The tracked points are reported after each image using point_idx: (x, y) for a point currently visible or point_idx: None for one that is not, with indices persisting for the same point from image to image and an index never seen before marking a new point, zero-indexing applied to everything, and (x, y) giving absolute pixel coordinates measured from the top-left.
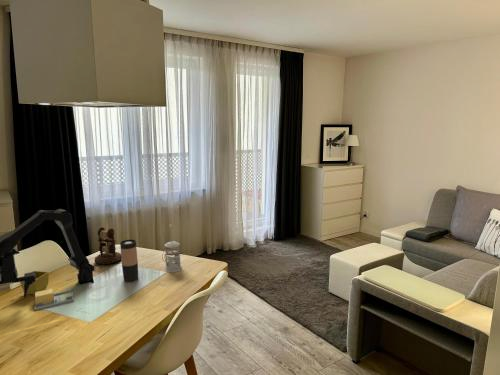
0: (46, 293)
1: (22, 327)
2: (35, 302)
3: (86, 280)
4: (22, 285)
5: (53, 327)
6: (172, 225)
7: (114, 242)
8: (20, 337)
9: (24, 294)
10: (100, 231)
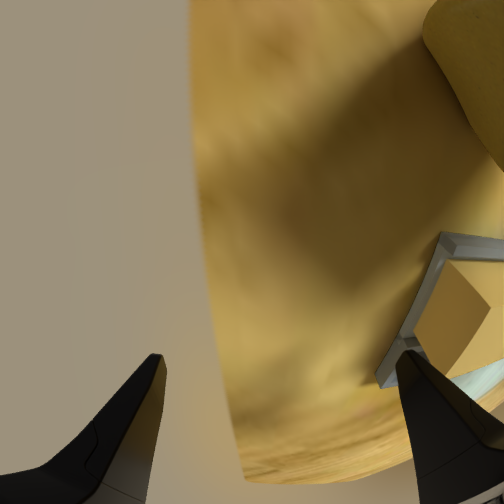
0: (492, 356)
1: (294, 435)
2: (429, 289)
3: None
4: (486, 22)
5: (365, 442)
6: None
7: None
8: (280, 455)
9: (406, 409)
10: None
